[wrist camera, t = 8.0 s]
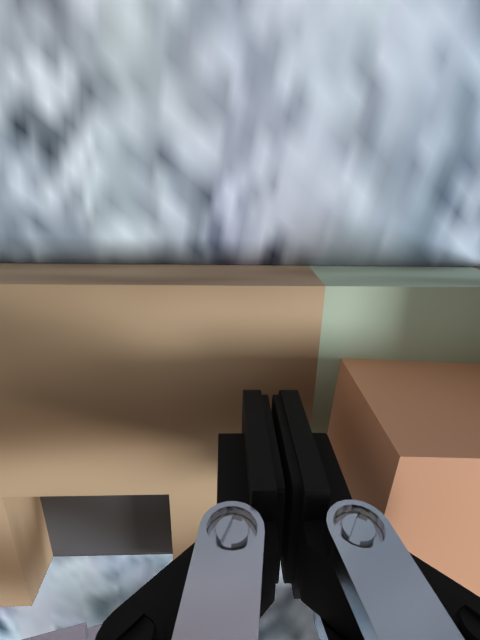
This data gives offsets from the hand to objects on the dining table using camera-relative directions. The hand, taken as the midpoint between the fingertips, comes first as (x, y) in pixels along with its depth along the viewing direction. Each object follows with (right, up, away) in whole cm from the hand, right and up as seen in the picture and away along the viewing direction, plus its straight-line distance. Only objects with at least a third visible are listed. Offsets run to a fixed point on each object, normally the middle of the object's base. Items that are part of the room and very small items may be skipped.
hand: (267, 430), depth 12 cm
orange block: (+5, 0, +2) cm, 5 cm away
